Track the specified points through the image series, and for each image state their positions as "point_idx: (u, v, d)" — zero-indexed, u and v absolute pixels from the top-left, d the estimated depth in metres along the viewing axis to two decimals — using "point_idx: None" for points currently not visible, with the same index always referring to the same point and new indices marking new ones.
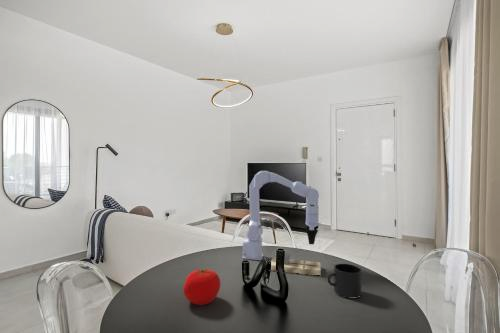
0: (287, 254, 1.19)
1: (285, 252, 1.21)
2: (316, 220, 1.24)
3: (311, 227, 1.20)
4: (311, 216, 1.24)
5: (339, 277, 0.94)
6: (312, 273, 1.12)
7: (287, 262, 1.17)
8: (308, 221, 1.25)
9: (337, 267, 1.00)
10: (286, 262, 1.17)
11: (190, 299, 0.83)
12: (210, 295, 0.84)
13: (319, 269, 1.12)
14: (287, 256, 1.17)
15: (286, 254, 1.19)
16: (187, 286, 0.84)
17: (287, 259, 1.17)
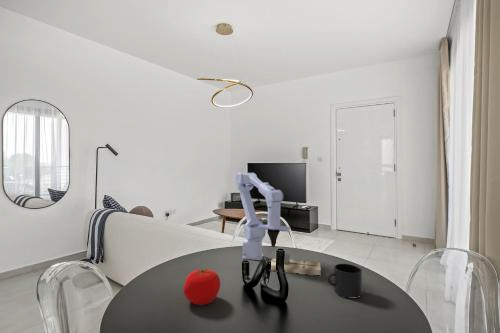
0: (287, 254, 1.19)
1: (285, 252, 1.21)
2: (269, 223, 1.19)
3: None
4: None
5: (339, 277, 0.94)
6: (312, 273, 1.12)
7: (287, 262, 1.17)
8: None
9: (337, 267, 1.00)
10: (286, 262, 1.17)
11: (190, 299, 0.83)
12: (210, 295, 0.84)
13: (319, 269, 1.12)
14: (287, 256, 1.17)
15: (286, 254, 1.19)
16: (187, 286, 0.84)
17: (287, 259, 1.17)
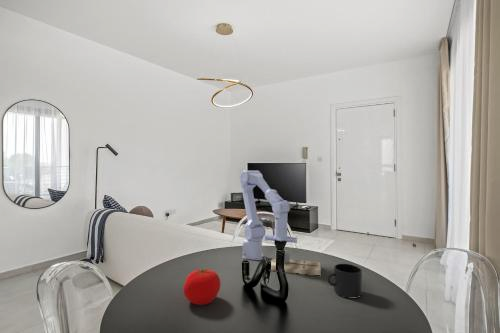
0: (287, 254, 1.19)
1: (285, 252, 1.21)
2: (276, 234, 1.18)
3: (265, 237, 1.22)
4: None
5: (339, 277, 0.94)
6: (312, 273, 1.12)
7: (287, 262, 1.17)
8: None
9: (337, 267, 1.00)
10: (286, 262, 1.17)
11: (190, 299, 0.83)
12: (211, 295, 0.84)
13: (319, 269, 1.12)
14: (287, 256, 1.17)
15: (286, 254, 1.19)
16: (188, 286, 0.84)
17: (287, 259, 1.17)
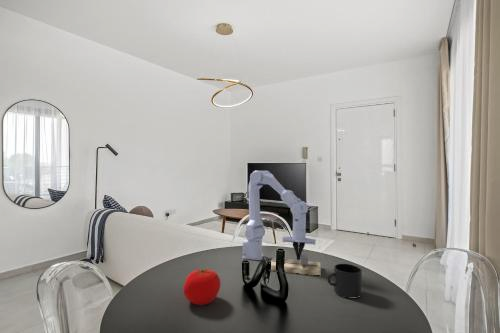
0: (305, 256, 1.17)
1: (303, 254, 1.19)
2: (294, 235, 1.17)
3: None
4: None
5: (339, 277, 0.94)
6: (312, 273, 1.12)
7: (306, 264, 1.15)
8: None
9: (337, 267, 1.00)
10: (305, 264, 1.15)
11: (190, 299, 0.83)
12: (210, 295, 0.84)
13: (319, 269, 1.12)
14: (306, 258, 1.15)
15: (305, 255, 1.17)
16: (187, 286, 0.84)
17: (306, 261, 1.15)
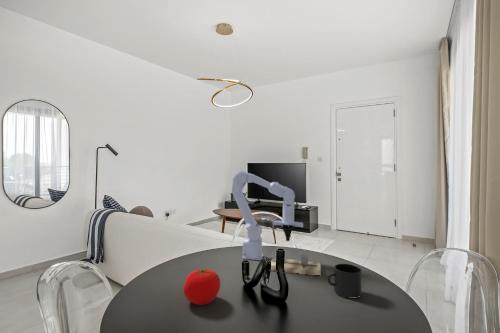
0: (305, 256, 1.17)
1: (303, 254, 1.19)
2: (283, 219, 1.29)
3: None
4: None
5: (339, 277, 0.94)
6: (312, 273, 1.12)
7: (306, 264, 1.15)
8: None
9: (337, 267, 1.00)
10: (305, 264, 1.15)
11: (190, 299, 0.83)
12: (211, 295, 0.84)
13: (319, 269, 1.12)
14: (306, 258, 1.15)
15: (305, 255, 1.17)
16: (188, 286, 0.84)
17: (306, 261, 1.15)
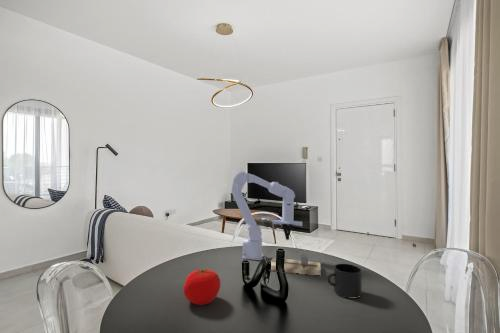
0: (305, 256, 1.17)
1: (303, 254, 1.19)
2: (283, 218, 1.32)
3: None
4: None
5: (339, 277, 0.94)
6: (312, 273, 1.12)
7: (306, 264, 1.15)
8: None
9: (337, 267, 1.00)
10: (305, 264, 1.15)
11: (190, 299, 0.83)
12: (211, 295, 0.84)
13: (319, 269, 1.12)
14: (306, 258, 1.15)
15: (305, 255, 1.17)
16: (187, 286, 0.84)
17: (306, 261, 1.15)
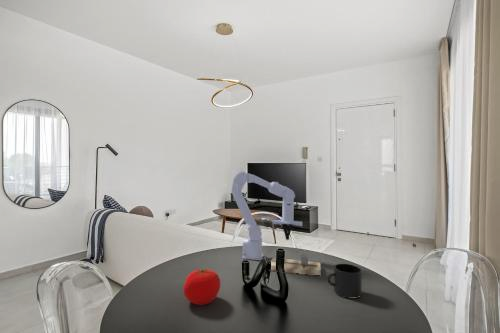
0: (305, 256, 1.17)
1: (303, 254, 1.19)
2: (283, 218, 1.32)
3: None
4: None
5: (339, 277, 0.94)
6: (312, 273, 1.12)
7: (306, 264, 1.15)
8: None
9: (337, 267, 1.00)
10: (305, 264, 1.15)
11: (190, 299, 0.83)
12: (211, 295, 0.84)
13: (319, 269, 1.12)
14: (306, 258, 1.15)
15: (305, 255, 1.17)
16: (188, 286, 0.84)
17: (306, 261, 1.15)
